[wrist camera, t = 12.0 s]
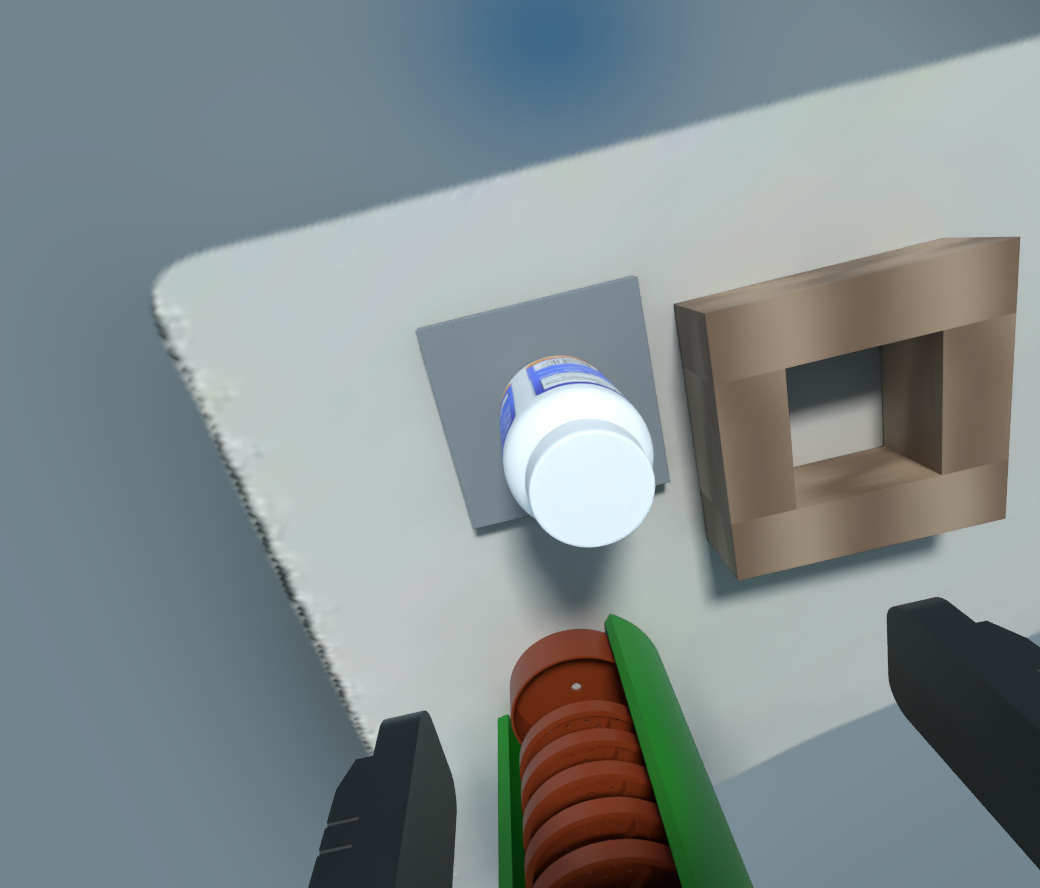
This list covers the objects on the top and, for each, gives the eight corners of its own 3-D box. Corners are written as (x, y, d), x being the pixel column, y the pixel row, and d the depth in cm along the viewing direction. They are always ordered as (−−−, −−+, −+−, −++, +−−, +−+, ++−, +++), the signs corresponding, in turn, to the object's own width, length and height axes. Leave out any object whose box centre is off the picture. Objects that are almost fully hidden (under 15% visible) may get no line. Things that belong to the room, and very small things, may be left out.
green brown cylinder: (559, 591, 31) (671, 1111, 13) (695, 648, 33) (973, 1182, 14) (477, 725, 34) (466, 1322, 15) (607, 772, 36) (742, 1360, 17)
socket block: (943, 237, 26) (1020, 236, 23) (941, 484, 31) (1005, 518, 27) (673, 303, 27) (704, 313, 23) (707, 539, 31) (738, 580, 27)
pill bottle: (556, 485, 28) (591, 601, 19) (474, 413, 27) (468, 500, 18) (638, 407, 27) (715, 489, 18) (556, 327, 26) (596, 372, 17)
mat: (631, 275, 26) (637, 276, 25) (664, 474, 30) (670, 481, 29) (417, 328, 26) (415, 331, 26) (473, 519, 30) (473, 528, 29)
